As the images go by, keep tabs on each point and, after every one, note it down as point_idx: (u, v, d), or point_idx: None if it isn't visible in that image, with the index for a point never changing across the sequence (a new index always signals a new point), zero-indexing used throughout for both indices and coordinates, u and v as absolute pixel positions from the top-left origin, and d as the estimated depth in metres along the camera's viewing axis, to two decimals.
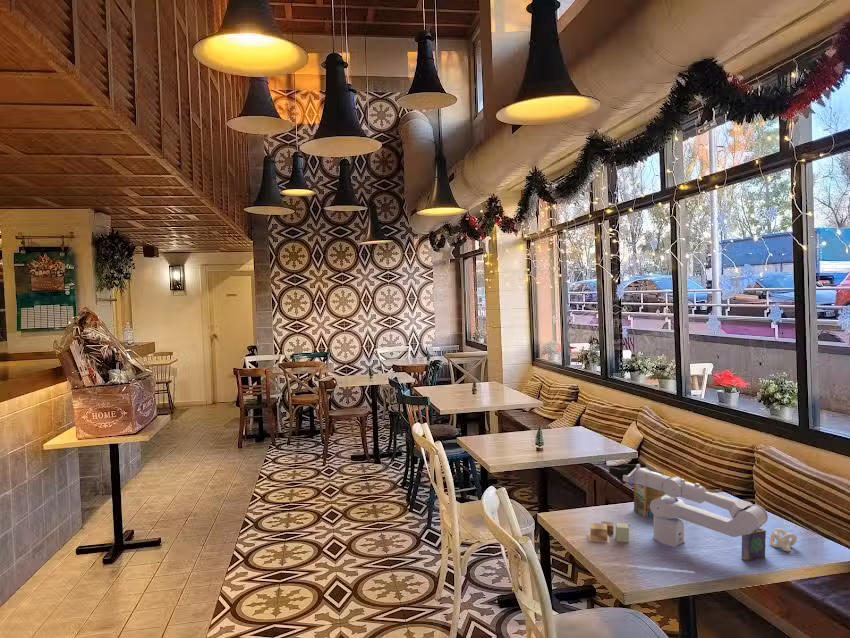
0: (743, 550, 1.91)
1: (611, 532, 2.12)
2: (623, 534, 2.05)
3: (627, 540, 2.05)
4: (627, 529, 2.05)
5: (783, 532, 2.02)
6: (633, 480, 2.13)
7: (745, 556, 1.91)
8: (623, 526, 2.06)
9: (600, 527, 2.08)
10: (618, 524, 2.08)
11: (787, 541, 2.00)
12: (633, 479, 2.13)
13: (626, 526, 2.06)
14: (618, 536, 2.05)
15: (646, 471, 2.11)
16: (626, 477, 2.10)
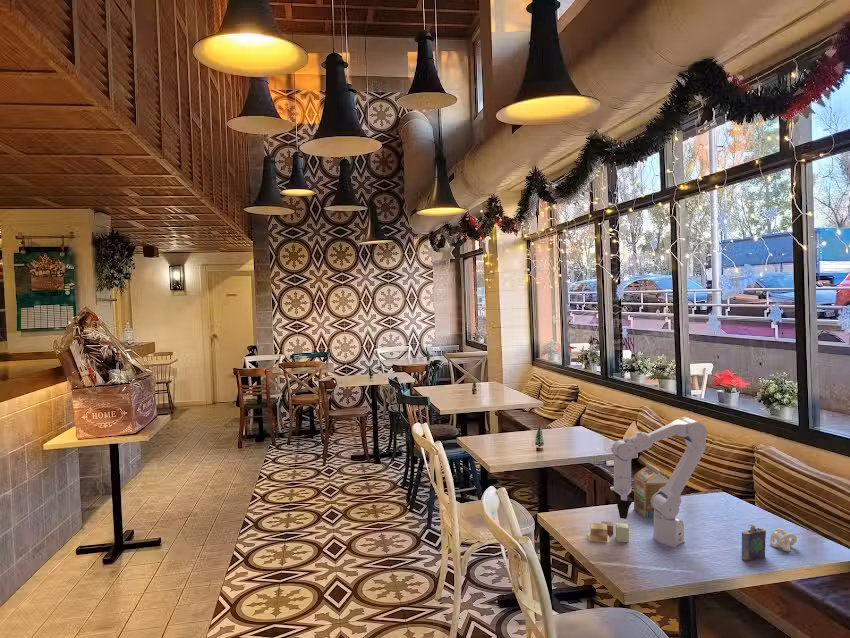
0: (743, 550, 1.91)
1: (611, 532, 2.12)
2: (623, 534, 2.05)
3: (627, 540, 2.05)
4: (627, 529, 2.05)
5: (783, 532, 2.02)
6: (627, 491, 2.04)
7: (745, 556, 1.91)
8: (623, 526, 2.06)
9: (600, 527, 2.08)
10: (618, 524, 2.08)
11: (787, 541, 2.00)
12: (626, 491, 2.04)
13: (626, 526, 2.06)
14: (618, 536, 2.05)
15: (614, 478, 2.06)
16: (622, 496, 2.00)
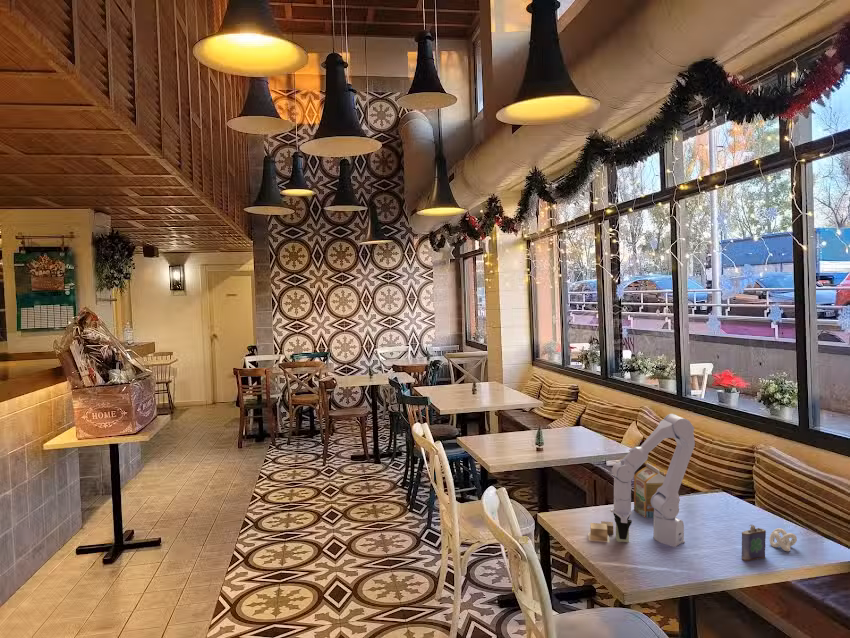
0: (743, 550, 1.91)
1: (611, 532, 2.12)
2: None
3: (627, 540, 2.05)
4: None
5: (783, 532, 2.02)
6: (627, 513, 2.04)
7: (745, 556, 1.91)
8: None
9: (600, 527, 2.08)
10: None
11: (787, 541, 2.00)
12: (626, 513, 2.04)
13: None
14: (618, 536, 2.05)
15: (614, 500, 2.07)
16: (622, 518, 2.00)
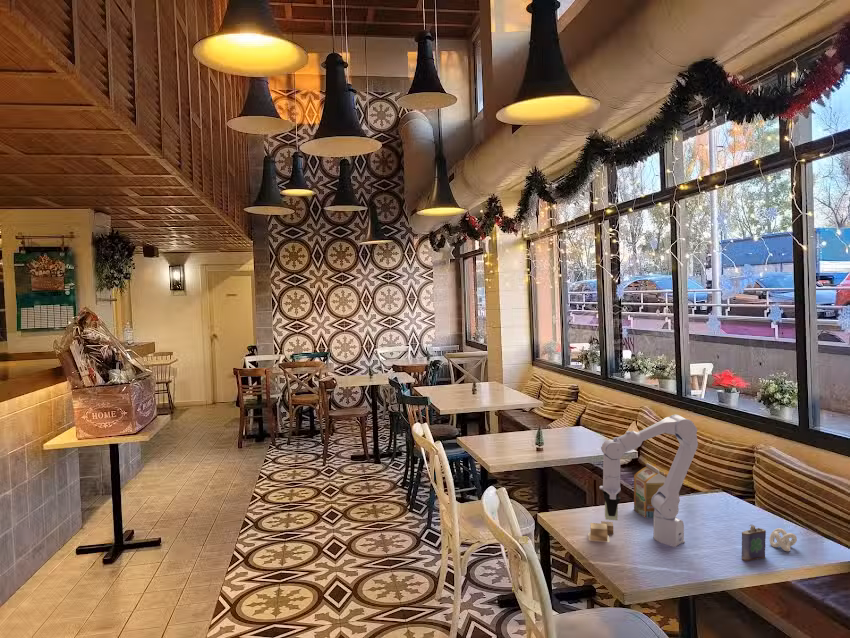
0: (743, 550, 1.91)
1: (611, 532, 2.12)
2: None
3: (616, 518, 2.05)
4: None
5: (783, 532, 2.02)
6: (616, 490, 2.04)
7: (745, 556, 1.91)
8: None
9: (600, 527, 2.08)
10: None
11: (787, 541, 2.00)
12: (615, 490, 2.04)
13: None
14: (607, 514, 2.06)
15: (603, 477, 2.07)
16: (611, 495, 2.01)
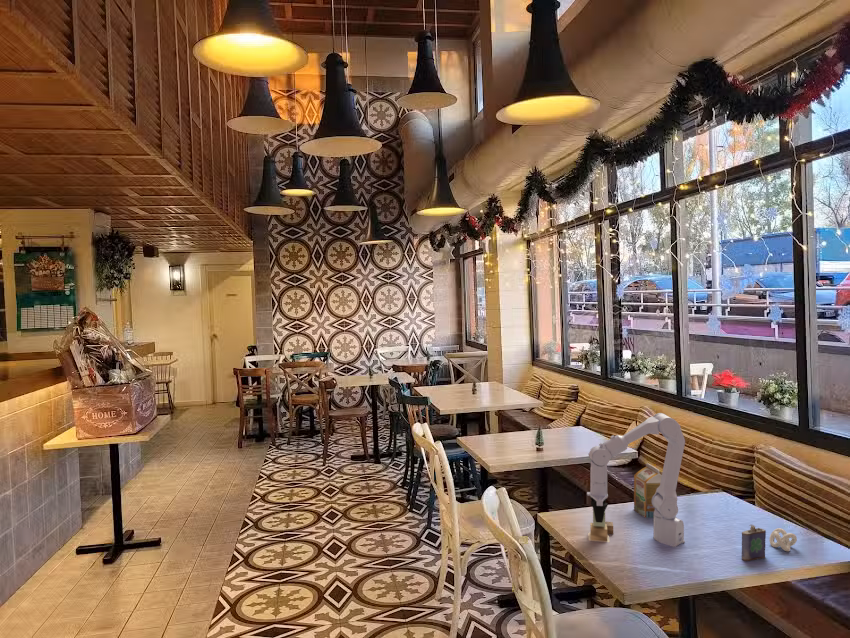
0: (743, 550, 1.91)
1: (611, 532, 2.12)
2: None
3: (603, 524, 2.06)
4: None
5: (783, 532, 2.02)
6: (603, 497, 2.06)
7: (745, 556, 1.91)
8: None
9: (600, 527, 2.08)
10: None
11: (787, 541, 2.00)
12: (602, 497, 2.06)
13: None
14: (595, 520, 2.07)
15: (590, 484, 2.08)
16: (598, 501, 2.02)
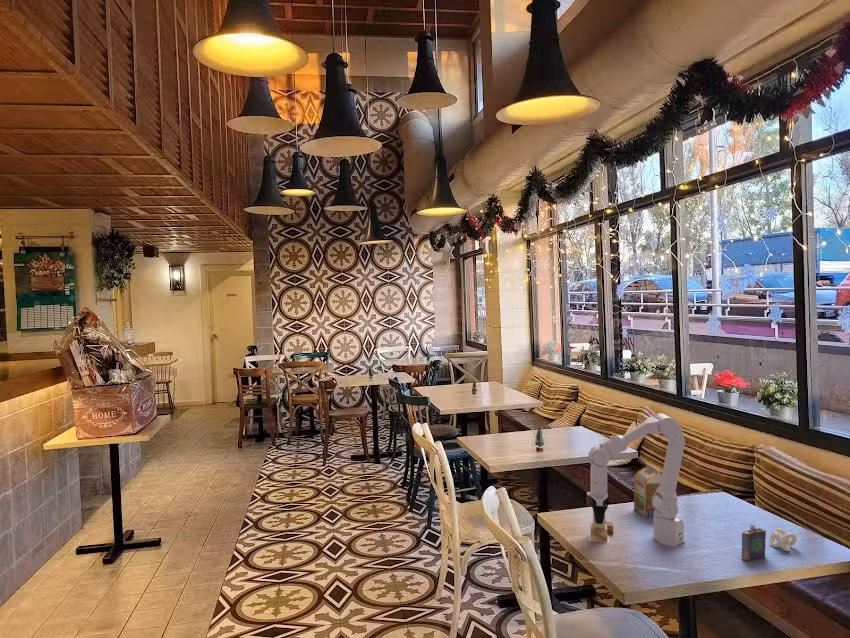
0: (743, 550, 1.91)
1: (611, 532, 2.12)
2: None
3: (604, 526, 2.07)
4: (604, 515, 2.06)
5: (783, 532, 2.02)
6: (603, 497, 2.06)
7: (745, 556, 1.91)
8: None
9: None
10: None
11: (787, 541, 2.00)
12: (602, 497, 2.06)
13: None
14: (595, 522, 2.07)
15: (590, 484, 2.08)
16: (598, 501, 2.02)
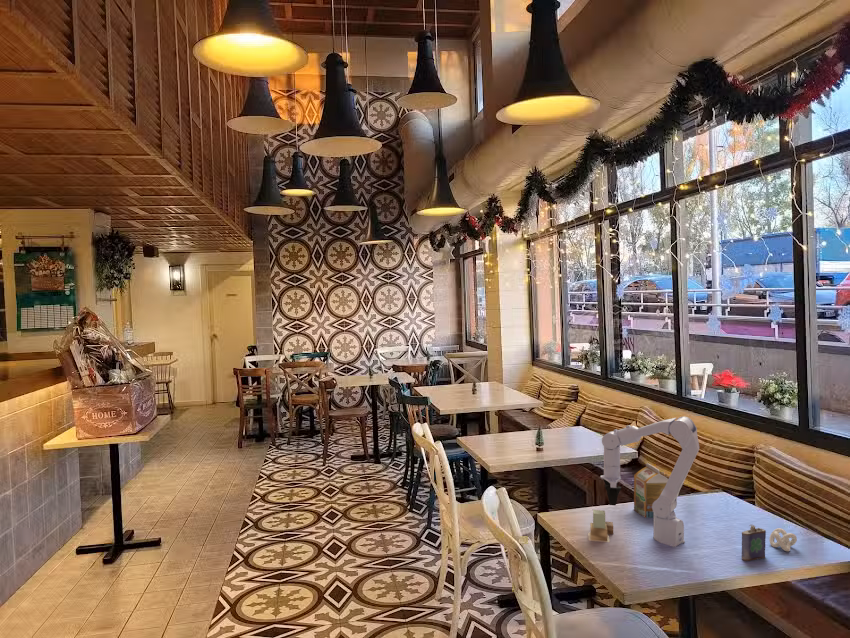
0: (743, 550, 1.91)
1: (611, 532, 2.12)
2: (600, 520, 2.07)
3: (604, 526, 2.07)
4: (604, 515, 2.06)
5: (783, 532, 2.02)
6: (616, 479, 2.15)
7: (745, 556, 1.91)
8: (600, 512, 2.08)
9: None
10: (595, 511, 2.10)
11: (787, 541, 2.00)
12: (615, 479, 2.15)
13: (603, 512, 2.08)
14: (595, 522, 2.07)
15: (604, 467, 2.17)
16: (611, 483, 2.11)
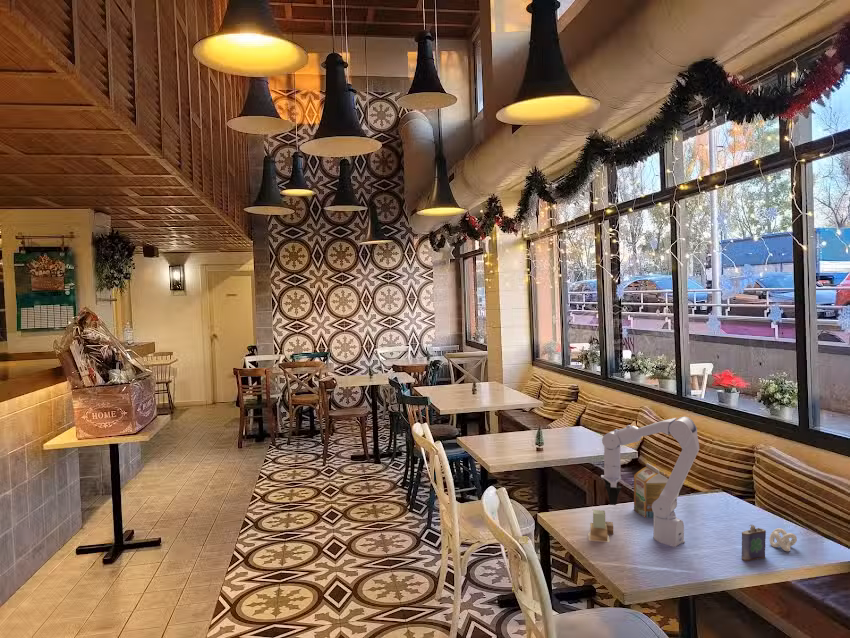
0: (743, 550, 1.91)
1: (611, 532, 2.12)
2: (600, 520, 2.07)
3: (604, 526, 2.07)
4: (604, 515, 2.06)
5: (783, 532, 2.02)
6: (616, 479, 2.15)
7: (745, 556, 1.91)
8: (600, 512, 2.08)
9: None
10: (595, 511, 2.10)
11: (787, 541, 2.00)
12: (615, 479, 2.15)
13: (603, 512, 2.08)
14: (595, 522, 2.07)
15: (604, 467, 2.18)
16: (612, 483, 2.11)
